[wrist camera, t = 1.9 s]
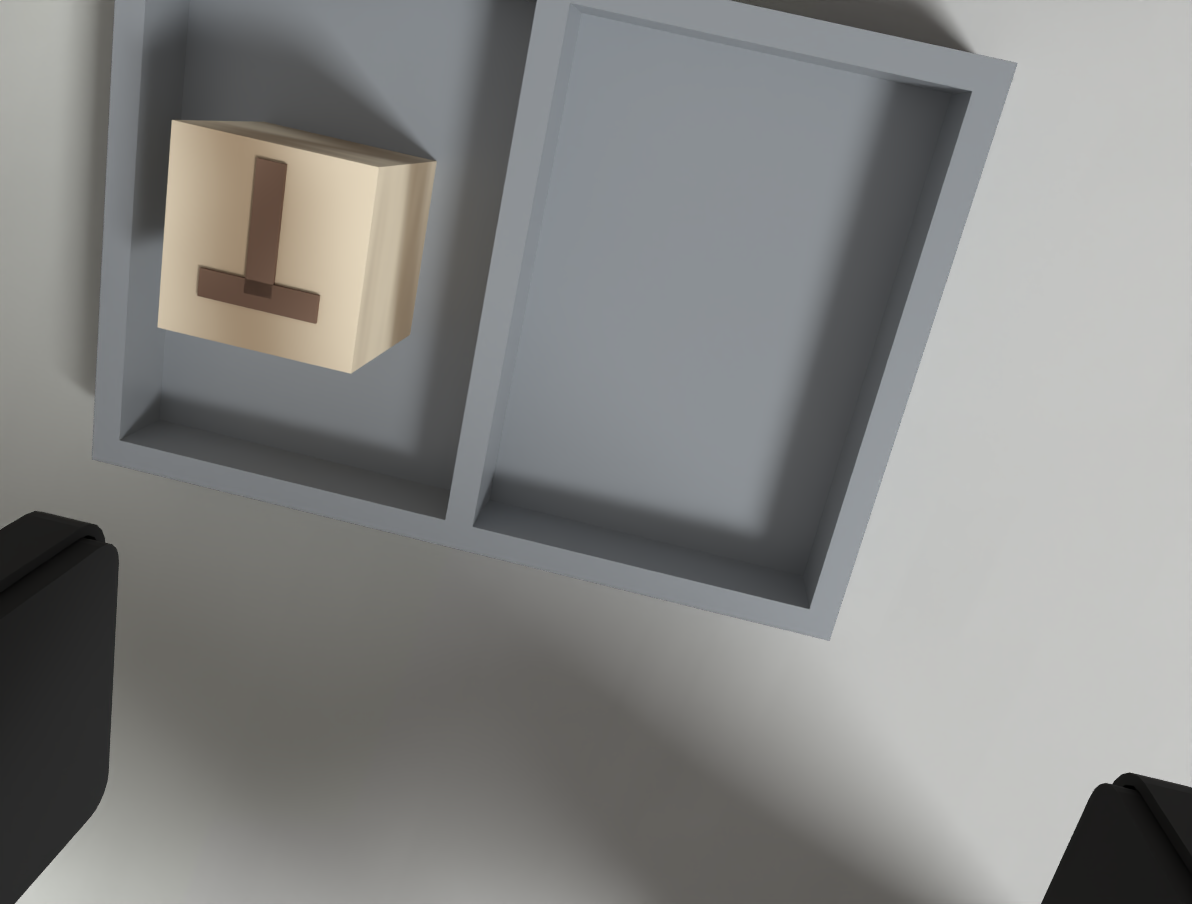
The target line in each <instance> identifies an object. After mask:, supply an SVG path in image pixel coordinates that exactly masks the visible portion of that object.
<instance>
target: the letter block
mask: <svg viewBox="0 0 1192 904" xmlns="http://www.w3.org/2000/svg"><path fill="white" fill-rule="evenodd" d="M436 163H437V161H434V160H430V159H425V158H421V157H416V156H412V155H408V154H403V153H399V152H395V151H390V150H386V149H381V148H377V147H373V146H368V145H364V144H360V143H355V142H351V141H346V140H342V139H338V138H333V137H329V136H324V135H320V134H316V133H311V132H307V131H303V130H298V129H294V128H289V127H285V126H281V125H276V124H272V123H268V122H253V121H203V120H172V125H171V139H170V154H169V168H168V183H167V197H166V211H165V226H164V240H163V254H162V269H161V283H160V297H159V312H158V326H157V327H158V328H162V329H166V330H170V331H174V332H179V333H183V334H187V335H191V336H195V337H199V338H204V339H208V340H212V341H216V342H220V343H225V344H229V345H233V346H237V347H241V348H246V349H250V350H254V351H258V352H262V353H266V354H271V355H275V356H279V357H283V358H287V359H292V360H296V361H300V362H304V363H308V364H312V365H317V366H321V367H325V368H329V369H333V370H338V371H342V372H346V373H350V374H351V373H353V372H354V371H356V370H357V369H359V368H360V367H362V366H363V365H365V364H366V363H368V362H369V361H371V360H372V359H374V358H376V357H377V356H379V355H380V354H382V353H383V352H385V351H386V350H388V349H389V348H391V347H392V346H394V345H395V344H397V343H398V342H400V341H401V340H403V339H404V338H406V337H407V336H409V335H410V332H411V326H412V319H413V313H414V306H415V300H416V293H417V287H418V280H419V274H420V267H421V261H422V254H423V247H424V241H425V234H426V228H427V221H428V215H429V208H430V202H431V195H432V189H433V182H434V176H435V169H436Z"/></svg>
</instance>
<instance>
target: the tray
mask: <svg viewBox="0 0 1192 904" xmlns="http://www.w3.org/2000/svg"><path fill="white" fill-rule="evenodd" d="M1016 66H1017V63H1015V62H1011V61H1006V60H1002V59H997V58H992V57H988V56H983V55H979V54H974V53H969V52H965V51H960V50H956V49H951V48H947V47H942V46H937V45H933V44H928V43H924V42H919V41H914V40H910V39H905V38H901V37H896V36H891V35H887V34H882V33H878V32H873V31H869V30H864V29H859V28H855V27H850V26H846V25H841V24H836V23H832V22H827V21H823V20H818V19H813V18H809V17H804V16H800V15H795V14H790V13H786V12H781V11H777V10H772V9H768V8H763V7H758V6H754V5H749V4H745V3H740V2H735V1H731V0H115V7H114V27H113V47H112V67H111V87H110V107H109V127H108V147H107V166H106V186H105V206H104V226H103V246H102V266H101V286H100V306H99V326H98V346H97V366H96V386H95V406H94V426H93V446H92V460H97V461H101V462H105V463H109V464H113V465H117V466H121V467H125V468H129V469H133V470H137V471H141V472H145V473H149V474H153V475H157V476H162V477H166V478H170V479H174V480H178V481H182V482H186V483H190V484H194V485H198V486H202V487H206V488H210V489H214V490H218V491H223V492H227V493H231V494H235V495H239V496H243V497H247V498H251V499H255V500H259V501H263V502H267V503H271V504H275V505H279V506H283V507H288V508H292V509H296V510H300V511H304V512H308V513H312V514H316V515H320V516H324V517H328V518H332V519H336V520H340V521H344V522H349V523H353V524H357V525H361V526H365V527H369V528H373V529H377V530H381V531H385V532H389V533H393V534H397V535H401V536H405V537H409V538H414V539H418V540H422V541H426V542H430V543H434V544H438V545H442V546H446V547H450V548H454V549H458V550H462V551H466V552H470V553H475V554H479V555H483V556H487V557H491V558H495V559H499V560H503V561H507V562H511V563H515V564H519V565H523V566H527V567H531V568H535V569H540V570H544V571H548V572H552V573H556V574H560V575H564V576H568V577H572V578H576V579H580V580H584V581H588V582H592V583H596V584H601V585H605V586H609V587H613V588H617V589H621V590H625V591H629V592H633V593H637V594H641V595H645V596H649V597H653V598H657V599H661V600H666V601H670V602H674V603H678V604H682V605H686V606H690V607H694V608H698V609H702V610H706V611H710V612H714V613H718V614H722V615H727V616H731V617H735V618H739V619H743V620H747V621H751V622H755V623H759V624H763V625H767V626H771V627H775V628H779V629H783V630H787V631H792V632H796V633H800V634H804V635H808V636H812V637H816V638H820V639H824V640H828V641H830V637H831V634H832V631H833V628H834V625H835V622H836V619H837V616H838V613H839V610H840V607H841V604H842V601H843V598H844V594H845V591H846V588H847V585H848V582H849V579H850V576H851V573H852V570H853V567H854V564H855V561H856V558H857V555H858V551H859V548H860V545H861V542H862V539H863V536H864V533H865V530H866V527H867V524H868V521H869V518H870V515H871V512H872V509H873V505H874V502H875V499H876V496H877V493H878V490H879V487H880V484H881V481H882V478H883V475H884V472H885V469H886V466H887V462H888V459H889V456H890V453H891V450H892V447H893V444H894V441H895V438H896V435H897V432H898V429H899V426H900V423H901V419H902V416H903V413H904V410H905V407H906V404H907V401H908V398H909V395H910V392H911V389H912V386H913V383H914V380H915V376H916V373H917V370H918V367H919V364H920V361H921V358H922V355H923V352H924V349H925V346H926V343H927V340H928V337H929V334H930V330H931V327H932V324H933V321H934V318H935V315H936V312H937V309H938V306H939V303H940V300H941V297H942V294H943V291H944V287H945V284H946V281H947V278H948V275H949V272H950V269H951V266H952V263H953V260H954V257H955V254H956V251H957V248H958V244H959V241H960V238H961V235H962V232H963V229H964V226H965V223H966V220H967V217H968V214H969V211H970V208H971V205H972V201H973V198H974V195H975V192H976V189H977V186H978V183H979V180H980V177H981V174H982V171H983V168H984V165H985V162H986V159H987V155H988V152H989V149H990V146H991V143H992V140H993V137H994V134H995V131H996V128H997V125H998V122H999V119H1000V116H1001V112H1002V109H1003V106H1004V103H1005V100H1006V97H1007V94H1008V91H1009V88H1010V85H1011V82H1012V79H1013V76H1014V73H1015V69H1016ZM172 120H203V121H253V122H268V123H272V124H276V125H281V126H285V127H289V128H294V129H298V130H303V131H307V132H311V133H316V134H320V135H324V136H329V137H333V138H338V139H342V140H346V141H351V142H355V143H360V144H364V145H368V146H373V147H377V148H381V149H386V150H390V151H395V152H399V153H403V154H408V155H412V156H416V157H421V158H425V159H430V160H434V161H437V163H436V169H435V176H434V182H433V189H432V195H431V202H430V208H429V215H428V221H427V228H426V234H425V241H424V247H423V254H422V261H421V267H420V274H419V280H418V287H417V293H416V300H415V306H414V313H413V319H412V326H411V332H410V335H409V336H407V337H406V338H404V339H403V340H401V341H400V342H398V343H397V344H395V345H394V346H392V347H391V348H389V349H388V350H386V351H385V352H383V353H382V354H380V355H379V356H377V357H376V358H374V359H372V360H371V361H369V362H368V363H366V364H365V365H363V366H362V367H360V368H359V369H357V370H356V371H354V372H353V373H351V374H350V373H346V372H342V371H338V370H333V369H329V368H325V367H321V366H317V365H312V364H308V363H304V362H300V361H296V360H292V359H287V358H283V357H279V356H275V355H271V354H266V353H262V352H258V351H254V350H250V349H246V348H241V347H237V346H233V345H229V344H225V343H220V342H216V341H212V340H208V339H204V338H199V337H195V336H191V335H187V334H183V333H179V332H174V331H170V330H166V329H162V328H158V327H157V326H158V312H159V297H160V283H161V269H162V254H163V240H164V226H165V211H166V197H167V183H168V168H169V154H170V139H171V125H172Z"/></svg>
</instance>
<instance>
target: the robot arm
mask: <svg viewBox="0 0 1192 904" xmlns="http://www.w3.org/2000/svg"><path fill="white" fill-rule="evenodd" d="M118 567H119V559H118V552H117V549H116V548H115V547H114V546H113V545H112V544H108V543H105V538H104V535H103V532H102V530H101V529H100V528H99V527H98V526H97V525H95V524H90V523H86V522H82V521H78V520H74V519H70V518H65V517H61V516H57V515H53V514H49V513H45V512H38V511H34V512H31V513H28V514H26V515H24V516H23V517H21V518H19V519H17V520H16V521H14V522H12V523H11V524H9V525H7V526H6V527H4V528H2V529H1V530H0V904H15V903H16V901H17V900H18V899H19V898H20V897H21V896H22V895H23V893H24V892H25V891H26V890H27V889H28V888H29V887H30V885H31V884H32V883H33V882H34V881H35V880H36V879H37V878H38V876H39V875H40V874H41V873H42V872H43V871H44V870H45V868H46V867H47V866H48V865H49V864H50V863H51V862H52V860H53V859H54V858H55V857H56V856H57V855H58V854H59V852H60V851H61V850H62V849H63V848H64V847H65V846H66V844H67V843H68V842H69V841H70V840H71V839H72V838H73V836H74V835H75V834H76V833H77V832H78V831H79V830H80V828H81V827H82V826H83V825H84V824H85V823H86V822H87V820H88V819H89V818H90V817H91V815H92V814H93V813H94V811H95V810H96V808H97V806H98V805H99V803H100V801H101V799H102V796H103V794H104V791H105V788H106V785H107V780H108V773H109V752H110V732H111V711H112V690H113V670H114V649H115V629H116V608H117V588H118ZM1041 904H1192V788H1191V787H1188V786H1184V785H1180V784H1176V783H1172V782H1167V781H1163V780H1159V779H1155V778H1151V777H1147V776H1142V775H1138V774H1134V773H1126V774H1122V775H1121V776H1119V777H1118V778H1117V779H1116V780H1115V781H1114V783H1113V784H1108V783H1104V784H1100V785H1099V786H1098V787H1097V788H1095V789H1094V791H1093V793H1092V794H1091V796H1090V798H1089V800H1088V802H1087V805H1086V807H1085V809H1084V811H1083V813H1082V816H1081V818H1080V820H1079V822H1078V824H1077V826H1076V829H1075V831H1074V833H1073V835H1072V837H1071V840H1070V842H1069V844H1068V846H1067V848H1066V850H1065V853H1064V855H1063V857H1062V859H1061V861H1060V864H1059V866H1058V868H1057V870H1056V872H1055V875H1054V877H1053V879H1052V881H1051V883H1050V885H1049V888H1048V890H1047V892H1046V894H1045V896H1044V899H1043V901H1042V903H1041Z"/></svg>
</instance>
